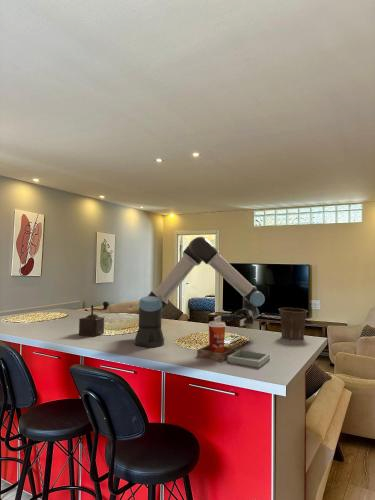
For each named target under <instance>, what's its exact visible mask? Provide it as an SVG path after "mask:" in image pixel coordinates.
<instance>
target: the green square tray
mask: <svg viewBox="0 0 375 500" xmlns="http://www.w3.org/2000/svg"><path fill="white" fill-rule="evenodd" d="M270 360H271V359H270V353H264V352H258V351H252V350H246V349H237V350H235V352H234V353H233V354H231V355H229V356H228V359H227V363H230V364H235V365H240V366H244V367H245V366H246V367H250V368H251V367H252V368H257V369H260V368H261V367H263V366H264V365H265V364H266V363H267V362H269V361H270Z"/></svg>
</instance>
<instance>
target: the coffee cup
mask: <svg viewBox="0 0 375 500" xmlns="http://www.w3.org/2000/svg"><path fill="white" fill-rule="evenodd" d="M207 326H208V341H209V344H208V345H209V347H210V351H212V352H218V353H223V350H224V346H225V335H226V327H227V325H226V322H225V321H214V320H212V321H209V322H208V324H207Z"/></svg>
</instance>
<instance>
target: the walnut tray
mask: <svg viewBox="0 0 375 500" xmlns="http://www.w3.org/2000/svg"><path fill="white" fill-rule="evenodd" d="M196 351H197V352H196V353H197V355H196V356H197V357H198V358H199V357H200V358H204V359H208V360H209V359H210V360H216V361H221V362H224V361H226V360H227V361H228V356H229V355H231V354H233V353H234V352H236V347H234V346H233V347H232V346H225V345H224V350H223V353H218V352H212V351H210V347H209V344H207V345H205V346H202V347H200V348H198V349H197V350H196Z"/></svg>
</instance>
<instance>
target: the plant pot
mask: <svg viewBox="0 0 375 500" xmlns="http://www.w3.org/2000/svg"><path fill="white" fill-rule="evenodd" d="M278 311H279V317H280V328H281V329H280V331H281V337H282V338H285V339H288V340H295V341H297V340H303V339H304V337H305V327H306V326H305V325H306V320H307V317H308V312H309V311H308V310H307V309H304V308H297V307H296V308H295V307H281V308H278Z"/></svg>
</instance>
